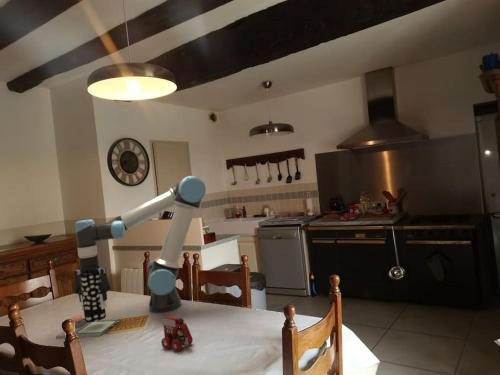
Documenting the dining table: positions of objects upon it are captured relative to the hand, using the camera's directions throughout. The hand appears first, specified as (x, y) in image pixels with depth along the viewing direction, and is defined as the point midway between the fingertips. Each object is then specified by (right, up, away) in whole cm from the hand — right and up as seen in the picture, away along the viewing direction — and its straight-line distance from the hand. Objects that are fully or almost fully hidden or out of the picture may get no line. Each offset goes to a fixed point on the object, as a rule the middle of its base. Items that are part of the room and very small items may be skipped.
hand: (94, 308), depth 157 cm
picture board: (-3, -9, +1) cm, 10 cm away
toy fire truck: (+41, -5, -26) cm, 49 cm away
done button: (-9, -8, +5) cm, 13 cm away
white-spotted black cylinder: (0, -5, 0) cm, 5 cm away
